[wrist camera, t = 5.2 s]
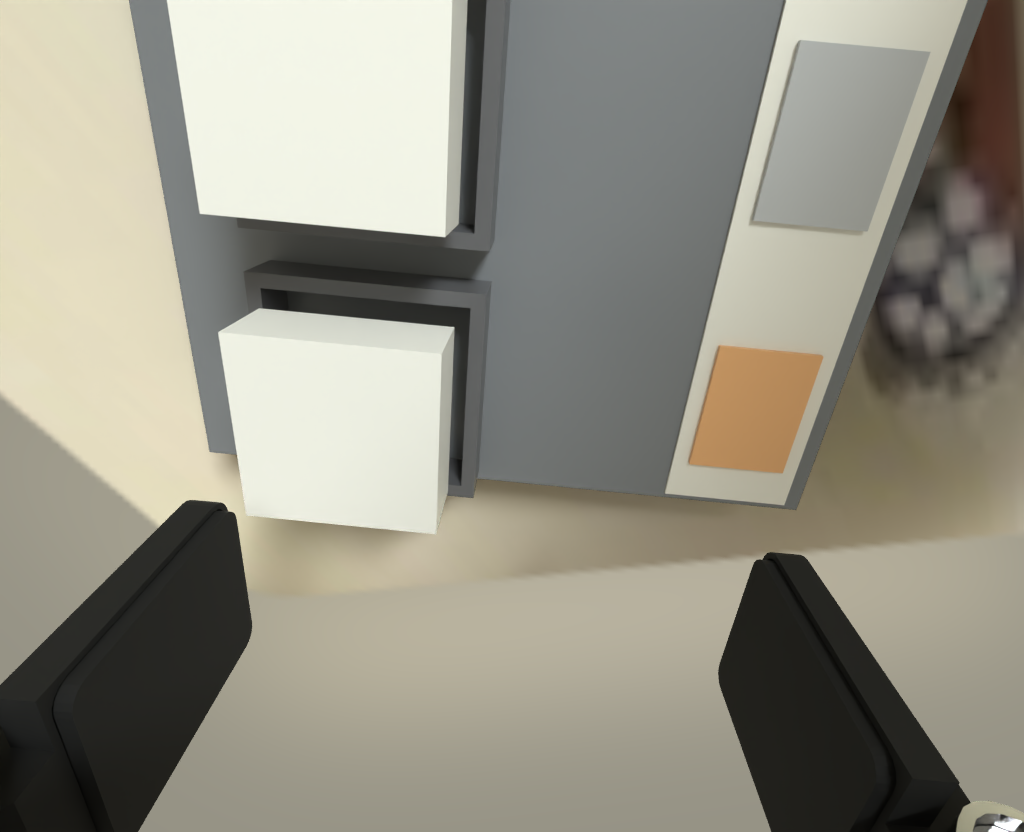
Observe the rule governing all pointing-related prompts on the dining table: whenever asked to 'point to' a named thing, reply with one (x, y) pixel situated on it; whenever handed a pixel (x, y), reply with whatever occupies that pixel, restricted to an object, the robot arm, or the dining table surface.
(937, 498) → the dining table surface
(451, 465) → the switch box
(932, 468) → the dining table surface
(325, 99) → the switch
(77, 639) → the robot arm
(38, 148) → the dining table surface
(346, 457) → the switch
